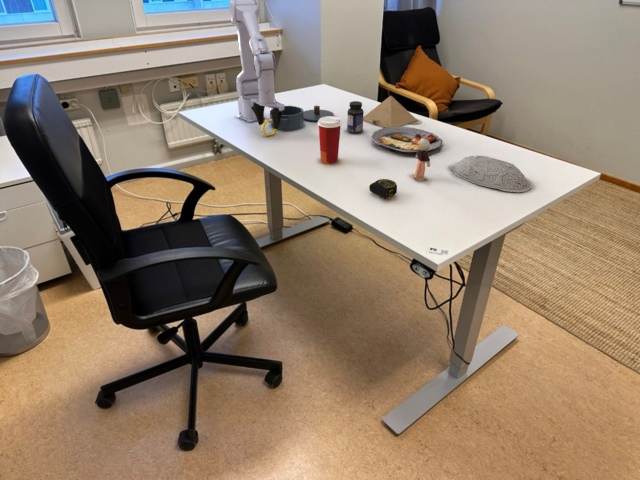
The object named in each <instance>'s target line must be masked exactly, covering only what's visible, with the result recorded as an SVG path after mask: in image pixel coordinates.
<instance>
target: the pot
mask: <svg viewBox="0 0 640 480" xmlns="http://www.w3.org/2000/svg"><path fill="white" fill-rule="evenodd" d="M272 110H274V109H273V108H270V110H269V117H270V118H269V119H272V120H273V118H272V115H271V113H270V111H272ZM304 125H305V119H304V109H303V108H302V107H299V106H295V105H284V113H283V115H282V117H281V120H280V124H279V128H277V129H276V131H280V132H292V131H293V132H294V131H298V130H300V129H302V128H304ZM270 128H272V129H273V130H274V126H273V122H271V123H270Z"/></svg>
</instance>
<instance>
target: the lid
mask: <svg viewBox="0 0 640 480" xmlns="http://www.w3.org/2000/svg"><path fill="white" fill-rule="evenodd" d="M303 112H304V121H305V120H306V121H311V122H319V121H318V120H319V119H320V118H322V117H327V116H332V117H335V115H334V113H333V112H332V111H330V110H327V109H321V106H320V105H314V106H313V109H309V110H303Z"/></svg>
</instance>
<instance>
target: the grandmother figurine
mask: <svg viewBox="0 0 640 480" xmlns="http://www.w3.org/2000/svg"><path fill="white" fill-rule="evenodd" d="M430 146H431V145H430V143H429V141H428V140H426V139H421V140H420V145H419V149H420V150H418V152H416V154H415V159H416V160H417V163H416V167H415V171H414V173H412V176H411V177H412V178H415V179H416V181H417V182H424V181H425V180H426V178H425V173H426V167H427V168H430V167H431V159H430V157H429V154H428V152H427V151H426V150H427V148H429V147H430Z"/></svg>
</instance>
